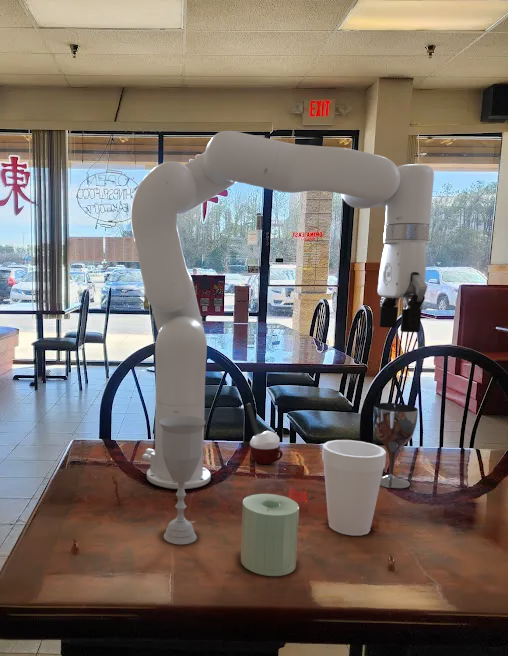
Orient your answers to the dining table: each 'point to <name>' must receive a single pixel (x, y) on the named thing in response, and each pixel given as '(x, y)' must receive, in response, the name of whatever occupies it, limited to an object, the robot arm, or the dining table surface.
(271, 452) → the cocoa
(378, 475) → the foam cup
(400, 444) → the wine glass
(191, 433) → the chalice
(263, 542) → the mug
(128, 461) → the dining table surface
